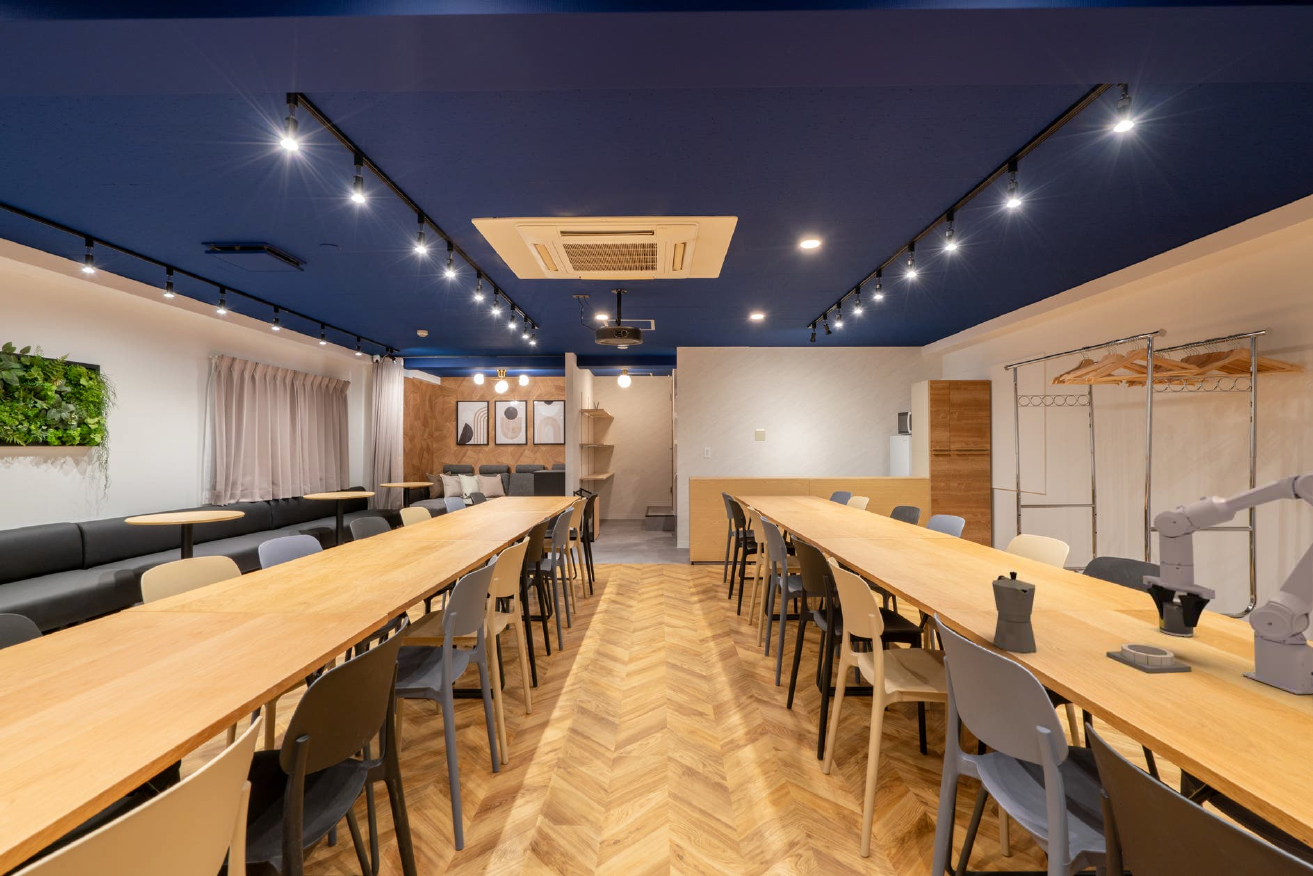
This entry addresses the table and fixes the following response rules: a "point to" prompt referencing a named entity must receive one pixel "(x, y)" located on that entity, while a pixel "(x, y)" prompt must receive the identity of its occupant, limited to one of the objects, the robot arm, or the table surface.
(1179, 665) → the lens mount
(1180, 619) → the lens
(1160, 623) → the pill bottle
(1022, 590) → the coffeepot
